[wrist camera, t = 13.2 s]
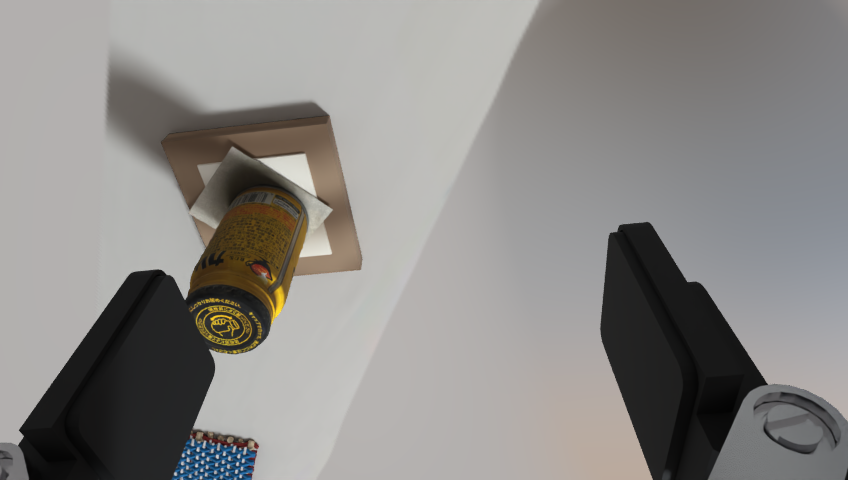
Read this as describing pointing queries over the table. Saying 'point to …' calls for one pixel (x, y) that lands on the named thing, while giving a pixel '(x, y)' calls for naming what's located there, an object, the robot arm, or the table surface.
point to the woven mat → (216, 459)
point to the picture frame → (287, 157)
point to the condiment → (248, 251)
